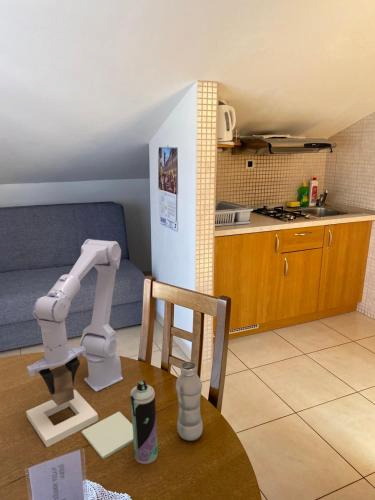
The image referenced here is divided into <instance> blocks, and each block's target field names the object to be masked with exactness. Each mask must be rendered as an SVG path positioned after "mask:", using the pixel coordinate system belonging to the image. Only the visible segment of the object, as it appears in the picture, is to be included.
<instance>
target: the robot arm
mask: <svg viewBox="0 0 375 500" xmlns="http://www.w3.org/2000/svg"><path fill="white" fill-rule="evenodd" d="M121 257H122V249H121V247H120V244H119V243H118V241H116V240H114V241H113V240H110V241H109V240H100V239H92V238H88V239H85V241H84V242H83V244H82V245H81V248H80V255H79V258H78V259H77V261H76V262H75V263H74V264H73V266H72V268H71V269H70V271H69V273H68V274H66V273H65V274H62V275H61V276H60V277H59V278H58V280H57V281H56V282H55V284H54V285H53V286H52V287H51V289H50V290H49V291H48V292H47V294H46V295H43V296H41V297H39V298H37V300H36V301H35V303H34V306H33V311H32V315H33V317H34V319H36V321H37V324H38V326H40V330H41V339H42V344H43V346H42V347H43V352H44V357H42V358H40V359H39V360H38V361H36V362H34V363H33V364H30V365H28V366H26V369H27V374H28V375H29V377H30V378H31V377H34V376H36V374H37V373H38V374H39V375H40V376H41V377H42V379H43V381H44V382H45V384H46V387H47V389H48V392H49V394H50V393H51V394H52V395H53V394H54V386H53V374H52V373H51V370H52V369H53V368H57V367H59V366H62V365H65V366H66V367H67V368H68V369H69V370H70V371H71V375H72V383H73V386H74V383H75V379H76V378H75V377H76V374H77V371H78V368H79V367H80V365H81V361H80V360H79V359H78V357H84V358H86V361H87V370H88V376H87V377H84V378H83V379H84V380H83V381H84V382H85V383H86V384H87V385H88V386H89V387H90V388H91V389H92V390H94V392H96V393H97V392H99V391H101V390H103V389H106V388H107V387H110V386H113V385H114V384H117V383H118V382H121V381H123V379H124V377H123V376H122V374H123V373H122V365H121V364H122V363H121V362H122V361H121V358H120V355H119V352H118V351H117V332H116V331H115V330H114V328H112V327H111V326H110V316H111V311H112V310H111V309H112V305H113V304H112V302H113V295H114V288H115V280H116V274H117V270H119V269H120V261H121ZM93 267H94V268H95V269H96V270H97V279H96V288H95V294H94V300H93V310H92V315H91V316H92V317H91V322H90V324H89V325H87V327H85V328H83V331H82V335H81V338H80V341H79V345H78V346H77V347H73V348H69V344H68V336H67V335H68V334H67V328H66V318H67V316H68V314H69V309H70V307H71V304H72V303H71V302H72V300H73V299H74V297H75V296H76V295H77V294H78V292H79V291H80V289H81V288H82V287H81V281H82V280H83V279H84V277H85V276H86V275H87V274H88V273H89V271H91V269H92V268H93Z"/></svg>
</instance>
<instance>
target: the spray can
mask: <svg viewBox="0 0 375 500" xmlns="http://www.w3.org/2000/svg"><path fill="white" fill-rule="evenodd" d="M155 395H156V392H155V389H154V387H152V386H151V385H149V384H146V381H145V380H141V381H138V382H137V385H136V386H134V387H133V388H132V389H131V391H130V396H129V399H130V410H131V411H130V413H131V424H132V426H133V440H134V442H133V451H134V459H135V460H136V462H137V463H140V464H142V465H148V464H151V463H153V462H154V461H156V459H158V458H157V457H158V454H159V453H158V452H159V451H158V433H157V416H156V415H157V414H156V413H157V412H156V411H157V410H156V396H155Z"/></svg>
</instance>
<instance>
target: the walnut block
mask: <svg viewBox="0 0 375 500" xmlns="http://www.w3.org/2000/svg"><path fill="white" fill-rule="evenodd" d="M50 370H51V373H52V374H53V386H54V394H53V395H52V394H51V393H50V392H49V394H50V399H51V400H53V401H54V402H55V403H56V405H57V406H59V405H61V404H64V403H66V402H68V401H70V400H72V399H74V391H73V390H74V385H73V383H72V375H71V371H70V370H69V369H68V368H67V367H66V366H65V364H64V365H61V366H57V367H53V368H51V369H50Z"/></svg>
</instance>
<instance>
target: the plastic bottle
mask: <svg viewBox="0 0 375 500" xmlns="http://www.w3.org/2000/svg"><path fill="white" fill-rule="evenodd" d="M197 371H198V370H197V365H196V363H195V362H193V361H183V362H182V363H181V365H180V374H179V376H178V377H177V378H176V382H175V389H176V393H177V394H176V395H177V402H178V403H177V404H178V416H177V421H176V430H177V433H178V435H179V436H180V438H182V439H183V440H185V441H189V442H192V441H195V440H198V439H199V438H200V437H201V436H202V433H203V428H204V424H203V420H202V415H201V396H202V389H203V382H202V380H201V378H200V376H199V375H198V374H197V373H198V372H197Z"/></svg>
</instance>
